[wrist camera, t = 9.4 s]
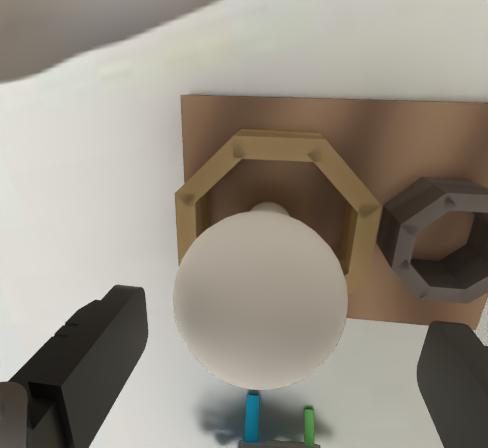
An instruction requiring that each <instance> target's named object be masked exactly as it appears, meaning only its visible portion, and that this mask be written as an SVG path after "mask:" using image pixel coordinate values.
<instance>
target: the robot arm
mask: <svg viewBox="0 0 488 448" xmlns="http://www.w3.org/2000/svg"><path fill="white" fill-rule="evenodd" d="M147 338H148V322H147V311H146V300H145V292H144V289H143V288H142V287H133V286H124V285H115V286H114V287H113V288H112V289H111V290H110V291H109V292H108V293H107V294H106V295H105V296H104V297H103V299H102V300H94V301H93V302H91V303H89V304H87V305H86V306H84V307H82V308H81V309H79V310H77V311H76V312H75V314H74V315H73V316H72V317H71V318H70V319H69V320H68V321H67V322H66V323H65V326H62V327H61V328H60V329H59V330H58V331H57V332H56V333H55V335H54V337H51V338H50V339H49V340H48V341H47V342H46V343H45V344H44V345H43V346H42V347H41V348H40V349H39V350H38V351H37V352H36V353H35V354H34V355H33V356H32V357H31V359H30V360H29V361H28V362H27V363H26V364H25V365H24V366H23V367H22V368H21V369H20V370H19V371H18V372H17V373H16V374H15V375H14V376H13V377H12V378H11V379H10V380H9V381H8V382H0V448H89V446H90V444H91V443H92V441H93V439H94V437H95V436H96V434H97V432H98V430H99V429H100V427H101V425H102V423H103V422H104V420H105V418H106V416H107V415H108V413H109V411H110V409H111V408H112V406H113V404H114V402H115V401H116V399H117V397H118V395H119V394H120V392H121V390H122V388H123V387H124V385H125V383H126V381H127V380H128V378H129V376H130V374H131V373H132V371H133V369H134V367H135V366H136V364H137V362H138V360H139V359H140V357H141V355H142V353H143V351H144V349H145V346H146V343H147ZM417 382H418V386H419V389H420V392H421V394H422V397H423V399H424V401H425V404H426V406H427V408H428V411H429V413H430V415H431V418H432V420H433V422H434V425H435V427H436V429H437V432H438V434H439V436H440V439H441V441H442V444H443V446H444V448H488V346H484V345H483V344H482V342H481V341H480V340H479V338H478V337H477V336H476V334H475V333H474V332H473V330H472V329H471V328H470V327H469V326H468V325H467V324H463V323H454V322H445V321H433V322H431V324H430V326H429V328H428V332H427V335H426V338H425V342H424V345H423V348H422V351H421V355H420V358H419V361H418V365H417Z"/></svg>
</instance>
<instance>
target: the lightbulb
mask: <svg viewBox="0 0 488 448" xmlns="http://www.w3.org/2000/svg"><path fill="white" fill-rule="evenodd" d="M173 302H174V315H175V321H176V324H177V327H178V331H179V333H180V335H181V337H182V339H183V341H184V343H185V345H186V346H187V348H188V350H189V352H190V353H191V354H192V355H193V357H194V358H195V359H196V360H197V361H198V362H199V363H200V364H201V365H202V366H203V367H204V368H205V369H206V370H207V371H209V372H210V373H211V374H212V375H214V376H215V377H217V378H219V379H220V380H222V381H224V382H227V383H229V384H231V385H234V386H238V387H242V388H246V389H254V390H270V389H276V388H281V387H285V386H288V385H290V384H293V383H295V382H297V381H299V380H301V379H303V378H304V377H306V376H308V375H309V374H311V373H313V372H314V371H315V370H316V369H317V368H318V367H319V366H320V365H322V364H323V362H324V361H325V360H326V359H327V358H328V357H329V356H330V354H331V353H332V351H333V350H334V349H335V347H336V346H337V344H338V341H339V339H340V336H341V334H342V331H343V328H344V325H345V321H346V315H347V307H348V294H347V284H346V281H345V278H344V274H343V272H342V269H341V266H340V263H339V260H338V259H337V257H336V255H335V254H334V252H333V251H332V249H331V247H330V246H329V245H328V244H327V243H326V242H325V241H324V240H323V239H322V238H321V237H320V236H319V235H318V234H317V233H316V232H315V231H314V230H313V229H311V228H310V227H308V226H307V225H306V224H304V223H303V222H301V221H299V220H296V219H294V218H292V217H290V216H289V213H288V212H287V210H286V209H285V208H284V207H283V206H281V205H279V204H277V203H274V202H262V203H259V204H257V205H256V206H254V207H253V208H252V209H251V210H250V212H244V213H239V214H236V215H233V216H230V217H227V218H225V219H223V220H221V221H220V222H218V223H216V224H214V225H213V226H211V227H210V228H208V229H206V230H205V231H204V232H203V233H202V234H201V235H200V236H199V237H198V238H196V239H195V241H194V242H193V243H192V245H191V246H190V248H189V249H188V251H187V252H186V254H185V255H184V257H183V259H182V261H181V263H180V266H179V268H178V271H177V274H176V279H175V286H174V292H173Z"/></svg>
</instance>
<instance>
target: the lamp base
mask: <svg viewBox="0 0 488 448" xmlns="http://www.w3.org/2000/svg"><path fill="white" fill-rule="evenodd" d="M181 114H182V137H183V159H184V182H185V184H184V185H183V186H182V187H181V188H180V189H179V190H178V191H177V192H176V193H175V206H176V224H177V242H178V259H179V266H180V263H181V261H182V259H183V257H184V255H185V254H186V252H187V251H188V249H189V248H190V246H191V245H192V243H193V242H194V241H195V239H196V238H198V237H199V236H200V235H201V234H202V233H203V232H204V231H205V230H206V229H208V228H210V227H211V226H213V225H214V224H216V223H218V222H220V221H221V220H223V219H225V218H227V217H230V216H233V215H236V214H239V213H244V212H250V210H251V209H252V208H253V207H254V206H256V205H257V204H259V203H262V202H274V203H277V204H279V205H281V206H283V207H284V208H285V209H286V210H287V212H288V213H289V216H290V217H292V218H294V219H296V220H299V221H301V222H303V223H304V224H306V225H307V226H308V227H310V228H311V229H313V230H314V231H315V232H316V233H317V234H318V235H319V236H320V237H321V238H322V239H323V240H324V241H325V242H326V243H327V244H328V245H329V246H330V247H331V249H332V251H333V252H334V254H335V255H336V257H337V259H338V260H339V263H340V266H341V269H342V272H343V274H344V278H345V281H346V284H347V294H348V307H347V315H346V318H353V319H364V320H375V321H386V322H396V323H407V324H418V325H429V326H430V324H431V322H433V321H445V322H454V323H463V324H467V325H468V326H469V327H470V328H471V329H472V330H476V328H477V325H478V323H479V320H480V317H481V314H482V311H483V308H484V305H485V303H486V300H487V297H488V103H470V102H433V101H396V100H359V99H322V98H285V97H248V96H211V95H181Z"/></svg>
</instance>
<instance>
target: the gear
mask: <svg viewBox="0 0 488 448" xmlns="http://www.w3.org/2000/svg"><path fill="white" fill-rule="evenodd" d="M259 399H260V396H258V395H247V401H246V419H245V437H244V439H242V440H240V448H320V445H318V444H314V410H312V409H304V442H289V441H272V440H258V422H259Z"/></svg>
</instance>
